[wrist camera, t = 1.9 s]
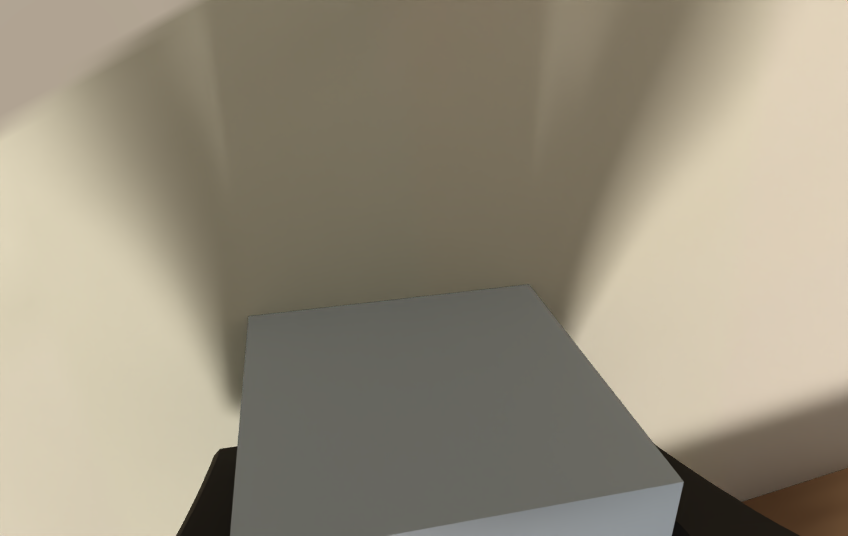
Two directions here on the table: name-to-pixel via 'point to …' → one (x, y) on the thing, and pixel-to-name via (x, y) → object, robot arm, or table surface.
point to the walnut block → (809, 506)
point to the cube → (438, 426)
